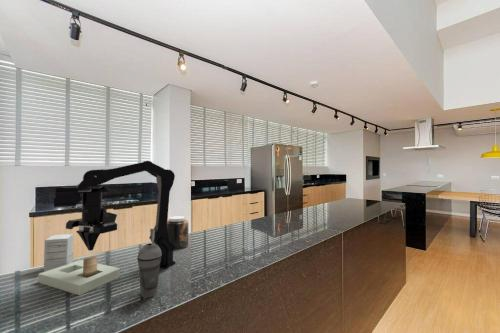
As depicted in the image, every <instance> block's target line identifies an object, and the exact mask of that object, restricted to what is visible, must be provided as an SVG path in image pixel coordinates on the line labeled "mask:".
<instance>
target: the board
mask: <svg viewBox="0 0 500 333" xmlns="http://www.w3.org/2000/svg"><path fill="white" fill-rule="evenodd" d="M83 260H84V259H79V260H76V261H73V263H70V264H67V265H64V266H61V267H58V268H55V269H52V270H49V271H45V272H44V271H43V272H39V273H38V274H37V275H38V278H37V282H38V284H42V285H45V286H48V287H52V288H54V289H58V290H61V291H65V292H66V293H70V294H74V295H77V296H81V295H83V294H86V293H88V292H90V291H92V290H94V289H97V288H98V287H101V286H103V285H106V284H108V283H110V282H112V281H115V280H116V279H118V278H120V277H121V268H120V267H116V266H110V265H108V264H107V265H106V264H101V263H98V262H97V274H96V275H93V276H91V277H88V278H85V277H83Z"/></svg>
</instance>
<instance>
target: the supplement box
mask: <svg viewBox="0 0 500 333" xmlns="http://www.w3.org/2000/svg"><path fill="white" fill-rule="evenodd" d="M74 237H75V236H74V233H66V234H65V233H64V234H54V235H51V236H49V237H48V238H46V239H45V240H44V250H43V251H44V252H43V253H44V254H43V255H44V256H43V257H44V258H43V260H44V261H43V272H45V271H49V270H52V269H55V268H58V267H61V266H64V265H67V264H70V263H73V262H74Z"/></svg>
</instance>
